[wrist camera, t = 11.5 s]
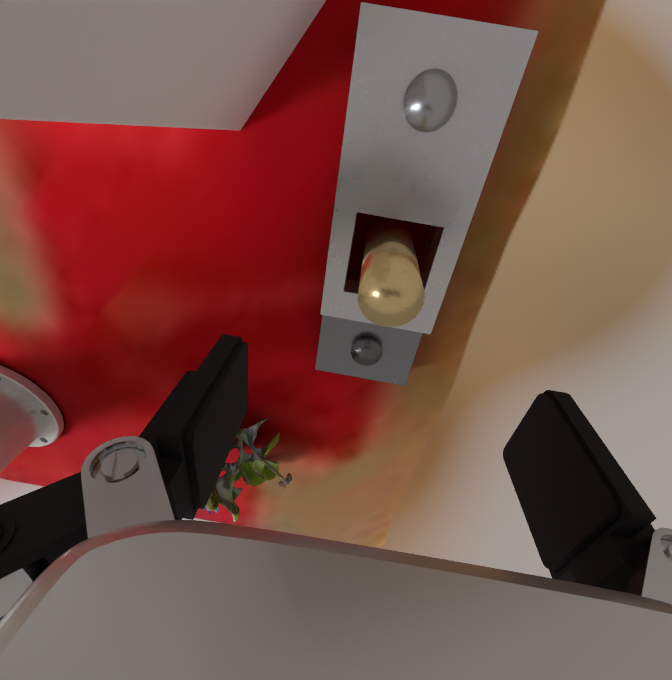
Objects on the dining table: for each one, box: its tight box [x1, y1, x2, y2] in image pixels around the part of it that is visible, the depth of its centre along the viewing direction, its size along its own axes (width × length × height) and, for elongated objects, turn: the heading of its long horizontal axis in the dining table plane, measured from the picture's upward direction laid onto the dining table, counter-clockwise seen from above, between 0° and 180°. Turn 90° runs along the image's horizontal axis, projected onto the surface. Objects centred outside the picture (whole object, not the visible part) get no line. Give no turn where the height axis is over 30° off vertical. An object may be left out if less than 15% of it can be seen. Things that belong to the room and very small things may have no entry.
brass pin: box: [358, 217, 425, 327], centre depth 20 cm, size 3×3×9 cm
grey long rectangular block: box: [315, 2, 539, 386], centre depth 22 cm, size 22×8×5 cm, turn 172°
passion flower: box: [203, 418, 292, 522], centre depth 34 cm, size 11×11×12 cm
